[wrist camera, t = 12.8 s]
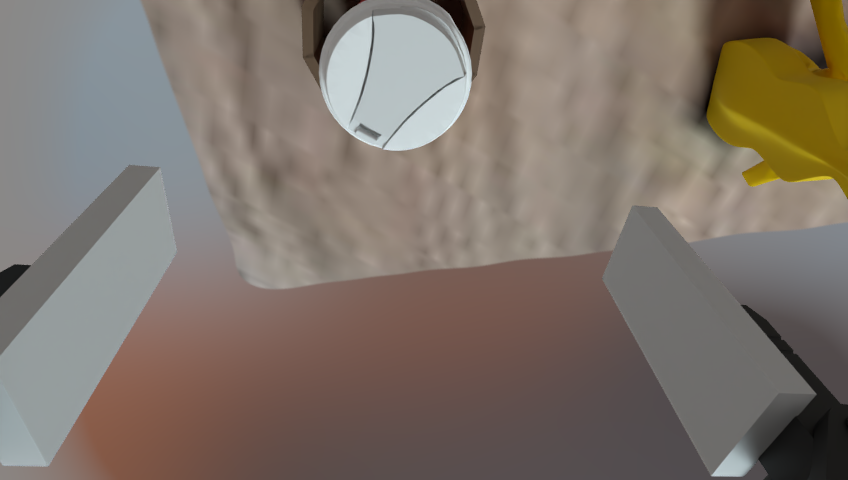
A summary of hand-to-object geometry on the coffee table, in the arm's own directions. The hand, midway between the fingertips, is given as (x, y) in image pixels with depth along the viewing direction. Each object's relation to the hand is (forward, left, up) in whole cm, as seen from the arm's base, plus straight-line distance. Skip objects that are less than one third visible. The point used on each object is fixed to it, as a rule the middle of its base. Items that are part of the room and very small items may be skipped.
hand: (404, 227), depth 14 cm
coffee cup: (0, 0, -29) cm, 29 cm away
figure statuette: (+1, +29, -29) cm, 41 cm away
